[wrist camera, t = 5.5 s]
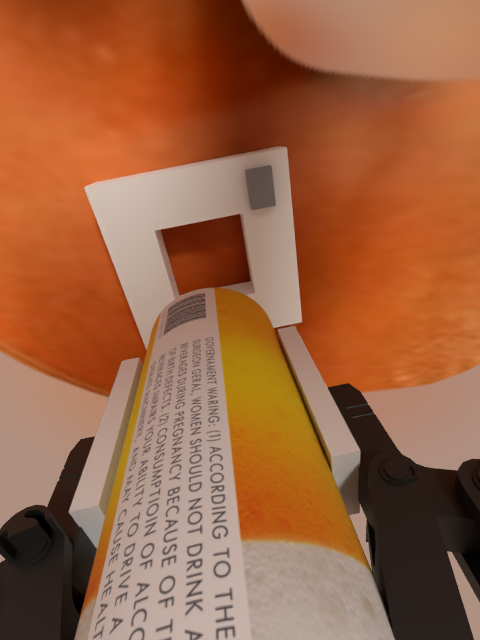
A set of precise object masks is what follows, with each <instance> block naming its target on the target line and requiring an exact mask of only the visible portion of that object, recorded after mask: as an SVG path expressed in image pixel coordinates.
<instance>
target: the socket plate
mask: <svg viewBox="0 0 480 640" xmlns="http://www.w3.org/2000/svg"><path fill="white" fill-rule="evenodd" d="M84 188H85V191H86V194H87V196H88V199H89V201H90V204H91V207H92V209H93V212H94V214H95V217H96V220H97V222H98V225H99V228H100V230H101V233H102V235H103V238H104V241H105V243H106V246H107V249H108V251H109V254H110V256H111V259H112V262H113V264H114V267H115V269H116V272H117V275H118V277H119V280H120V283H121V285H122V288H123V290H124V293H125V296H126V298H127V301H128V303H129V306H130V309H131V311H132V314H133V317H134V319H135V322H136V324H137V327H138V330H139V332H140V335H141V338H142V340H143V343H144V345H145V348H146V351H147V348H148V344H149V340H150V336H151V332H152V329H153V326H154V323H155V321H156V319H157V317H158V316H159V314H160V313H161V312H162V310H163V309H164V308H165V307H166V306H167V305H168V304H169V303H171V302H172V301H173V300H175V299H176V298H178V297H180V296H181V295H179V292H178V288H177V285H176V282H175V278H174V275H173V271H172V268H171V264H170V261H169V257H168V254H167V251H166V247H165V244H164V240H163V237H162V233H161V229H166V228H171V227H176V226H181V225H186V224H191V223H196V222H201V221H206V220H211V219H217V218H222V217H227V216H232V215H237V214H240V218H241V224H242V230H243V236H244V242H245V248H246V254H247V260H248V266H249V272H250V278H251V281H249V282H244V283H239V284H234V285H229V286H224V287H219V288H225V289H230V290H234V291H237V292H240V293H242V294H244V295H246V296H248V297H250V298H251V299H253V300H254V301H256V302H257V303H258V304H259V305H260V306H261V307H262V308H263V310H264V311H265V312H266V314H267V315H268V317H269V319H270V321H271V323H272V326H273V328H276V327H281V326H286V325H291V324H296V323H301V322H302V315H301V303H300V291H299V280H298V268H297V257H296V245H295V233H294V222H293V210H292V199H291V187H290V175H289V164H288V152H287V147H281V146H277V147H272V148H267V149H262V150H257V151H252V152H247V153H242V154H237V155H232V156H227V157H221V158H216V159H211V160H206V161H201V162H196V163H191V164H186V165H181V166H176V167H171V168H166V169H160V170H155V171H150V172H145V173H140V174H135V175H130V176H125V177H120V178H115V179H110V180H105V181H99V182H95V183H92V184H90V185H88V186H86V187H84Z"/></svg>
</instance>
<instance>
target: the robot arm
mask: <svg viewBox="0 0 480 640" xmlns="http://www.w3.org/2000/svg"><path fill="white" fill-rule="evenodd" d="M278 337H279V343H280V346H281V348H282V351H283V353H284V356H285V358H286V361H287V363H288V366H289V368H290V371H291V373H292V376H293V378H294V381H295V383H296V386H297V388H298V391H299V393H300V395H301V398H302V400H303V403H304V405H305V408H306V410H307V413H308V415H309V418H310V420H311V423H312V425H313V428H314V430H315V433H316V435H317V438H318V440H319V443H320V445H321V448H322V450H323V452H324V455H325V457H326V460H327V462H328V465H329V467H330V470H331V472H332V475H333V477H334V479H335V482H336V484H337V487H338V489H339V492H340V494H341V497H342V499H343V502H344V504H345V507H346V509H347V512H348V514H349V515H351V514H356V513H359V512H360V511H359V510H360V504H361V507H362V509H363V511H364V513H365V515H366V518H367V526H366V542H368V543H369V551H370V559H371V566H372V573H373V576H374V578H375V581H376V583H377V586H378V588H379V591H380V593H381V596H382V598H383V601H384V603H385V606H386V609H387V612H388V615H389V619H390V623H391V628H392V632H393V636H394V638H395V640H474V639H473V635H472V632H471V629H470V625H469V622H468V619H467V615H466V612H465V609H464V606H463V602H462V599H461V596H460V593H459V589H458V586H457V583H456V580H455V577H454V573H453V570H452V567H451V563H450V560H449V557H448V554H447V551H450V552H452V553H453V555H454V557H455V558H456V560H457V562H458V564H459V565H460V567H461V569H462V571H463V573H464V575H465V576H466V578H467V580H468V582H469V584H470V585H471V587H472V589H473V591H474V593H475V594H476V596H477V598H478V600H479V601H480V459H471V460H468V461H465V462H463V463H462V465H461V466H460V467H459V469H458V471H456V470H445V469H434V468H428V467H424V466H421V465H418V464H416V463H415V462H413V461H412V460H411V459H410V458H408V457H406V456H404V455H402V454H401V453H400V451H399V450H398V449H397V448H396V446H395V444H394V443H393V441H392V440H391V438H390V437H389V435H388V434H387V432H386V431H385V429H384V428H383V426H382V425H381V423H380V421H379V420H378V418H377V417H376V415H375V414H374V413H373V411H372V409H371V408H370V406H369V405H368V403H367V401H366V400H365V398H364V397H363V395H362V394H361V392H360V391H359V390H357V389H356V388H354V387H353V386H352V385H350V384H349V383H347V384H343V385H338V386H333V387H328V388H327V386H326V384H325V382H324V380H323V379H322V377H321V375H320V373H319V371H318V369H317V367H316V365H315V363H314V361H313V359H312V358H311V356H310V354H309V352H308V350H307V348H306V346H305V344H304V342H303V340H302V339H301V337H300V335H299V333H298V331H297V329H296V327H295V326H291V327H286V328H281V329H278ZM142 368H143V365H142V362H141V360H140V357H138V358H133V359H128V360H123V361H122V362H121V365H120V368H119V371H118V373H117V376H116V379H115V382H114V385H113V388H112V390H111V393H110V396H109V399H108V402H107V405H106V407H105V410H104V413H103V416H102V419H101V422H100V425H99V427H98V430H97V433H96V436H95V437H90V438H85V439H81V440H80V441H79V442H78V443H77V444H76V446H75V447H74V448H73V449H72V451H71V452H70V454H69V456H68V458H67V461H66V463H65V465H64V469H63V470H62V473H61V475H60V478H59V479H60V480H59V481H58V482H57V485H56V487H55V490H54V492H53V494H52V497H51V499H50V501H49V504H48V507H45V506H43V505H34V506H31V507H27V508H25V509H23V510H22V511H20V512H18V513H17V514H15V515H14V516H13V517H11V518H10V519H9V520H8V521H7V522H6V523H5V524H4V525H3V526H2V528H1V529H0V554H1V555H2V556H3V557H4V558H5V559H6V560H4V561H2V562H1V563H0V640H74V639H75V635H76V631H77V627H78V623H79V619H80V615H81V611H82V607H83V603H84V599H85V595H86V591H87V587H88V583H89V579H90V575H91V571H92V567H93V563H94V559H95V555H96V551H97V547H98V543H99V539H100V535H101V531H102V527H103V523H104V519H105V515H106V511H107V508H108V504H109V500H110V496H111V492H112V488H113V484H114V480H115V476H116V472H117V468H118V464H119V460H120V456H121V452H122V448H123V444H124V440H125V436H126V432H127V428H128V424H129V420H130V416H131V412H132V408H133V404H134V400H135V396H136V392H137V388H138V384H139V380H140V376H141V372H142Z"/></svg>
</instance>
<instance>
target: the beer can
mask: <svg viewBox="0 0 480 640" xmlns="http://www.w3.org/2000/svg"><path fill="white" fill-rule="evenodd" d="M74 640H395V638H394V636H393V632H392V628H391V623H390V619H389V615H388V612H387V609H386V606H385V603H384V601H383V598H382V596H381V593H380V591H379V588H378V586H377V583H376V581H375V578H374V576H373V573H372V571H371V568H370V566H369V564H368V561H367V559H366V556H365V554H364V551H363V549H362V546H361V544H360V541H359V539H358V537H357V534H356V531H355V529H354V526H353V524H352V521H351V519H350V516H349V514H348V512H347V509H346V507H345V504H344V502H343V499H342V497H341V494H340V492H339V489H338V487H337V484H336V482H335V479H334V477H333V475H332V472H331V470H330V467H329V465H328V462H327V460H326V457H325V455H324V452H323V450H322V448H321V445H320V443H319V440H318V438H317V435H316V433H315V430H314V428H313V425H312V423H311V420H310V418H309V415H308V413H307V410H306V408H305V405H304V403H303V400H302V398H301V395H300V393H299V391H298V388H297V386H296V383H295V381H294V378H293V376H292V373H291V371H290V368H289V366H288V363H287V361H286V358H285V356H284V353H283V351H282V348H281V346H280V343H279V341H278V338H277V336H276V333H275V331H274V328H273V326H272V323H271V321H270V319H269V317H268V315H267V314H266V312H265V311H264V310H263V308H262V307H261V306H260V305H259V304H258V303H257V302H256V301H254V300H253V299H251V298H250V297H248V296H246V295H244V294H242V293H240V292H237V291H234V290H230V289H225V288H203V289H198V290H194V291H191V292H188V293H186V294H183V295H181V296H180V297H178V298H176V299H175V300H173V301H172V302H171V303H169V304H168V305H167V306H166V307H165V308H164V309H163V310H162V312H161V313H160V314H159V316H158V317H157V319H156V321H155V323H154V326H153V329H152V332H151V336H150V340H149V344H148V348H147V352H146V356H145V360H144V364H143V368H142V372H141V376H140V380H139V384H138V388H137V392H136V396H135V400H134V404H133V408H132V412H131V416H130V420H129V424H128V428H127V432H126V436H125V440H124V444H123V448H122V452H121V456H120V460H119V464H118V468H117V472H116V476H115V480H114V484H113V488H112V492H111V496H110V500H109V504H108V508H107V511H106V515H105V519H104V523H103V527H102V531H101V535H100V539H99V543H98V547H97V551H96V555H95V559H94V563H93V567H92V571H91V575H90V579H89V583H88V587H87V591H86V595H85V599H84V603H83V607H82V611H81V615H80V619H79V623H78V627H77V631H76V635H75V639H74Z"/></svg>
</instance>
